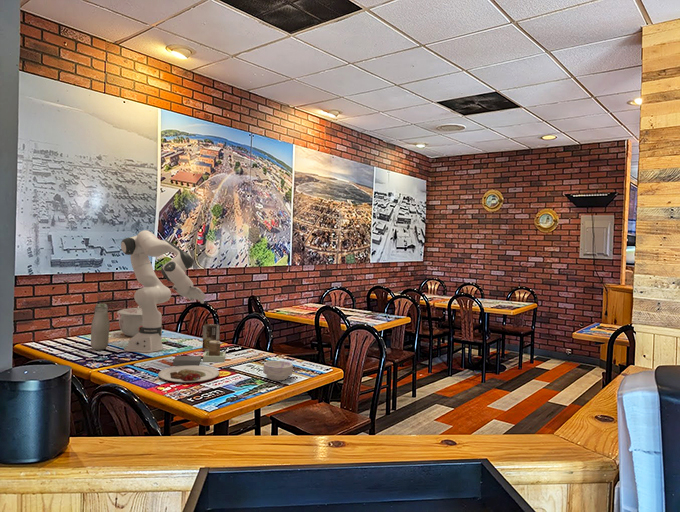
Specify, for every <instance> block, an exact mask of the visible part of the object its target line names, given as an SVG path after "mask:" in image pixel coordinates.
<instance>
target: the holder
mask: <svg viewBox="0 0 680 512" xmlns="http://www.w3.org/2000/svg"><path fill="white" fill-rule="evenodd" d="M225 361H226V351H220V356H209V351H204V353H203V356H202V362H203V363H225Z"/></svg>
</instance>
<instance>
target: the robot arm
mask: <svg viewBox="0 0 680 512" xmlns="http://www.w3.org/2000/svg"><path fill="white" fill-rule="evenodd" d="M120 247H121V251H122V253H123V254H125V255H127V256H130V263H131V267H132V270H133V272H134V275H135V278H136V281H137V282H138V283H139V284H141V285H142V286H144V287H142V288H139V289H137V290H136V291H135V292H134V295H133V296H134V297H133V298H134V301H135V303H136V304H137V305H138V306H140V308H141V310H142V315H143V324H142V326H140V327H139V333H138V334H136V335H135V336H133V337H131V338H129V340H128V343H127V345H126V346H125V347H123V352H133V353H134V352H135V353H136V352H137V353H153V352H159V351H162V350H164V346H163V342H162V341H163V340H162V334H163V326H162V324H163V323H162V321H163V320H162V319H163V318H162V317H163V316H162V312H161V311H160V310H158V307H157V305H160V304H164V303H166V302H167V301H168V302H169V300H170V299H171V297H172V291H171V289H170V288H169V287H168V286H166V285H165V284H164V283H162V281H161V280H160V279H159V278H158V276H157V274H156V272H155V270H154V268H153V264H152V262H151V260H150V258H149V257H151V258H154V257H155V258H156V257H160V256H162V255H165V254H168V253H172V254H174V255H175V257H173V258H172V259H171V260H169V261H168V262H166V263H165V264H163V266H161V270H160V271H161V272H160V273H161V275H162V276H163V277H164V278H165V279H166V281H167V282H170V283H173V286H172V290H175V291H176V293H177V294H178V295H179V296H181V297H184V298H186V299H188V300H189V301H190V302H194V300H198V301H199V303H200V304H205V300H204V299H205V298H206V297H207V295H206V294H205V293H204V292H203V291H202V289H201V288H199V287H197V286H194V282H193V281H192V280H191V278H190V277H189V276H188V275H187V274H186V271H187V270H189V269H191V268H192V267H193V266H194V260H195V259H194V258H193V257H192V255H191V254H190V253H188V252H186V251H184V250H183V249H181V248H180V247H179V246H177V245H176V244H174V243H173V242H171V241H169V240H167V239H165V240H163V239H159V238H158V237H157V235H155V234H154V233H153V232H152V231H150V230H144V229H143V230H141V231H140V232H138V234H137V235H135V236H131V237H126V238H124V239H122V241H120Z"/></svg>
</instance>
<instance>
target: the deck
mask: <svg viewBox="0 0 680 512" xmlns="http://www.w3.org/2000/svg"><path fill="white" fill-rule="evenodd" d="M201 363H202V356H200V355H176V356H174V358H173V360H172V367H176V366H188V365H196V366H201Z"/></svg>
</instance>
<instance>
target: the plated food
mask: <svg viewBox="0 0 680 512" xmlns="http://www.w3.org/2000/svg"><path fill="white" fill-rule="evenodd" d="M157 375H158V378H160V379H162V380H166V381H169V382H174V383H182V384H183V383H187V384H188V383H190V384H191V383H197V382H198V383H200V382H205V381H209V380H212V379H215V378H216V377H218V376H219V375H220V371H219V370H218V369H216V368H215V367H211V366H205V365H199V366H196V365H188V366H172V367H167V368H164V369H162V370H160V371H159V372H158V374H157Z"/></svg>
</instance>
